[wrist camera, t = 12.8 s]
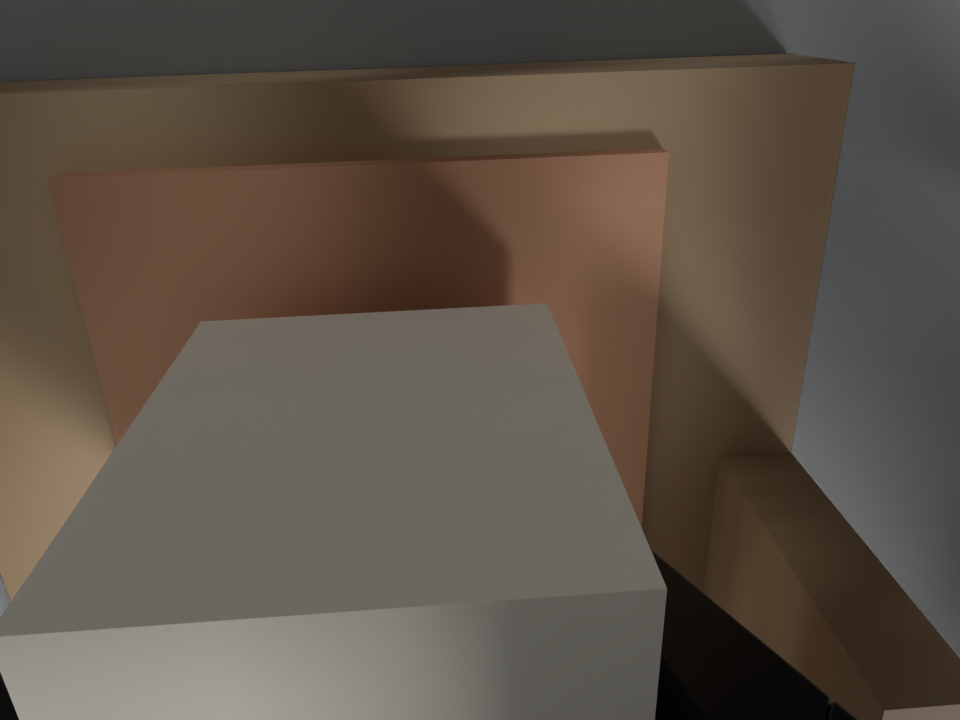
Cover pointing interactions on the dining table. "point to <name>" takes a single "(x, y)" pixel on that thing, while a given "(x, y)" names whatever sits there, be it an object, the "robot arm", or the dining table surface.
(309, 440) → the cream block
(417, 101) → the puzzle board
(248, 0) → the dining table surface
